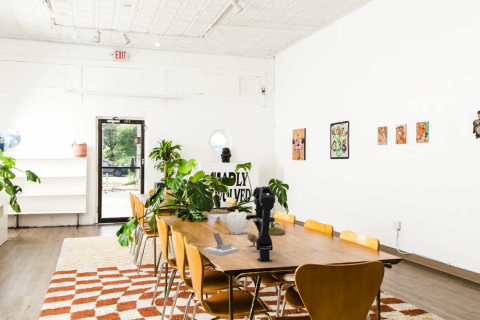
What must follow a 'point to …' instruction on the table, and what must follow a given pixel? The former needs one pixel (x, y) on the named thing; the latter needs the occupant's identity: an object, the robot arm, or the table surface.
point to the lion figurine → (252, 238)
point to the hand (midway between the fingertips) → (259, 232)
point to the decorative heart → (237, 222)
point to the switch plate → (221, 249)
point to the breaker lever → (218, 238)
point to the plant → (275, 230)
